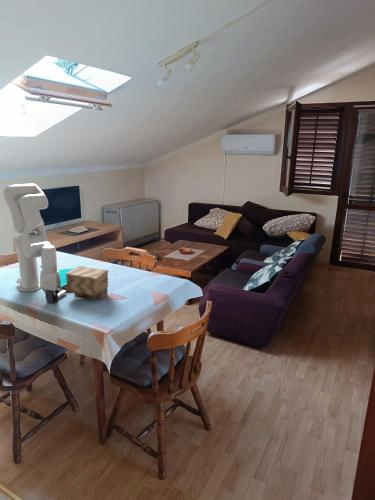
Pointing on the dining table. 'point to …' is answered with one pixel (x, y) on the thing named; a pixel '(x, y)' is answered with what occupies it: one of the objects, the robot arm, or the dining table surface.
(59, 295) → the grey mallet
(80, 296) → the disc
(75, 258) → the dining table surface
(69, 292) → the sunglasses case
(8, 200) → the robot arm
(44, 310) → the dining table surface
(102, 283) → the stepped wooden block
